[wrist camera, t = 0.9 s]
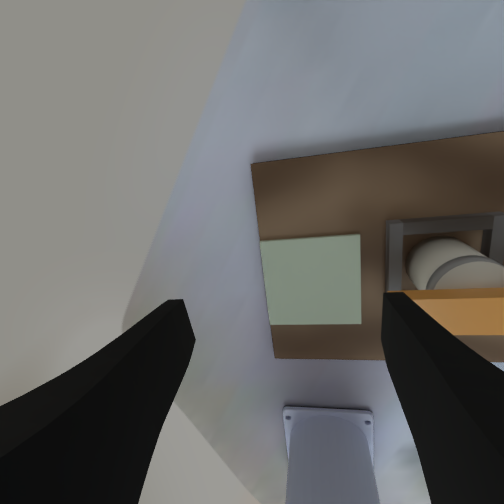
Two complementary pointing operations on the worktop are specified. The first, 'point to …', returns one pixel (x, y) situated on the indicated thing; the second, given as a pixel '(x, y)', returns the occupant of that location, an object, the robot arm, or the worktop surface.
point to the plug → (451, 266)
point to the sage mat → (313, 280)
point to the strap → (464, 309)
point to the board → (384, 224)
